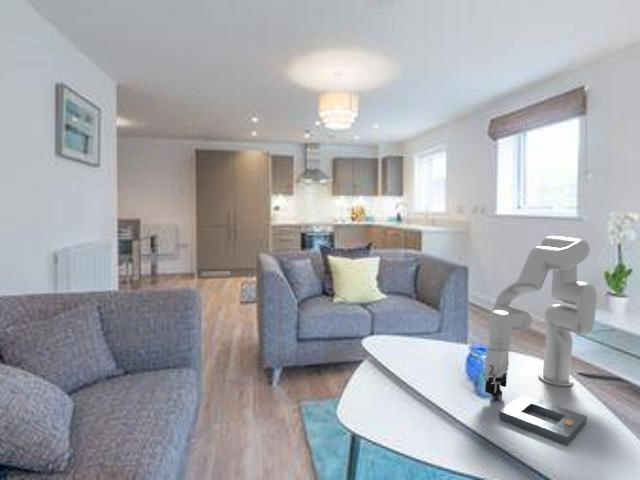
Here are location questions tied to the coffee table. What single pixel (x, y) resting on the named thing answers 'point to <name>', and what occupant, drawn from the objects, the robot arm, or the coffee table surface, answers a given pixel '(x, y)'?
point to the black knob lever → (497, 388)
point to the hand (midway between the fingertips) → (495, 389)
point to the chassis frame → (559, 433)
